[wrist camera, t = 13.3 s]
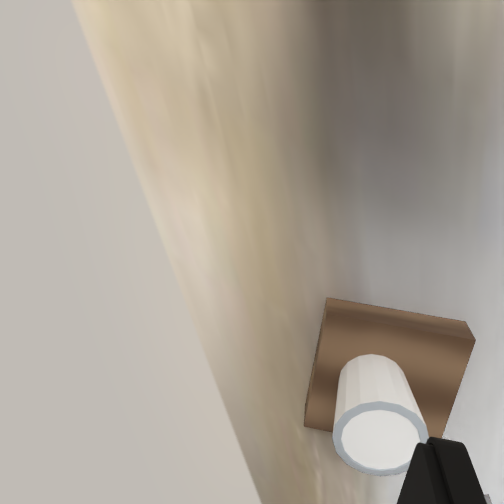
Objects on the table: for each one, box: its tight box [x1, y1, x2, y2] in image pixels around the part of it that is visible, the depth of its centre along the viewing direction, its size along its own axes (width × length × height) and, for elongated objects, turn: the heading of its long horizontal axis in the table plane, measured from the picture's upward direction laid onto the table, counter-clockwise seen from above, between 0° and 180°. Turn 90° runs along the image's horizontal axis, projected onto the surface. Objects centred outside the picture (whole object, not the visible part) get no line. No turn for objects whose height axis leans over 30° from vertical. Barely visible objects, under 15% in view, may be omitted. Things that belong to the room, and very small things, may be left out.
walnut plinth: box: [304, 298, 476, 438], centre depth 41 cm, size 12×12×3 cm
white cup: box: [332, 354, 429, 476], centre depth 36 cm, size 7×7×7 cm
